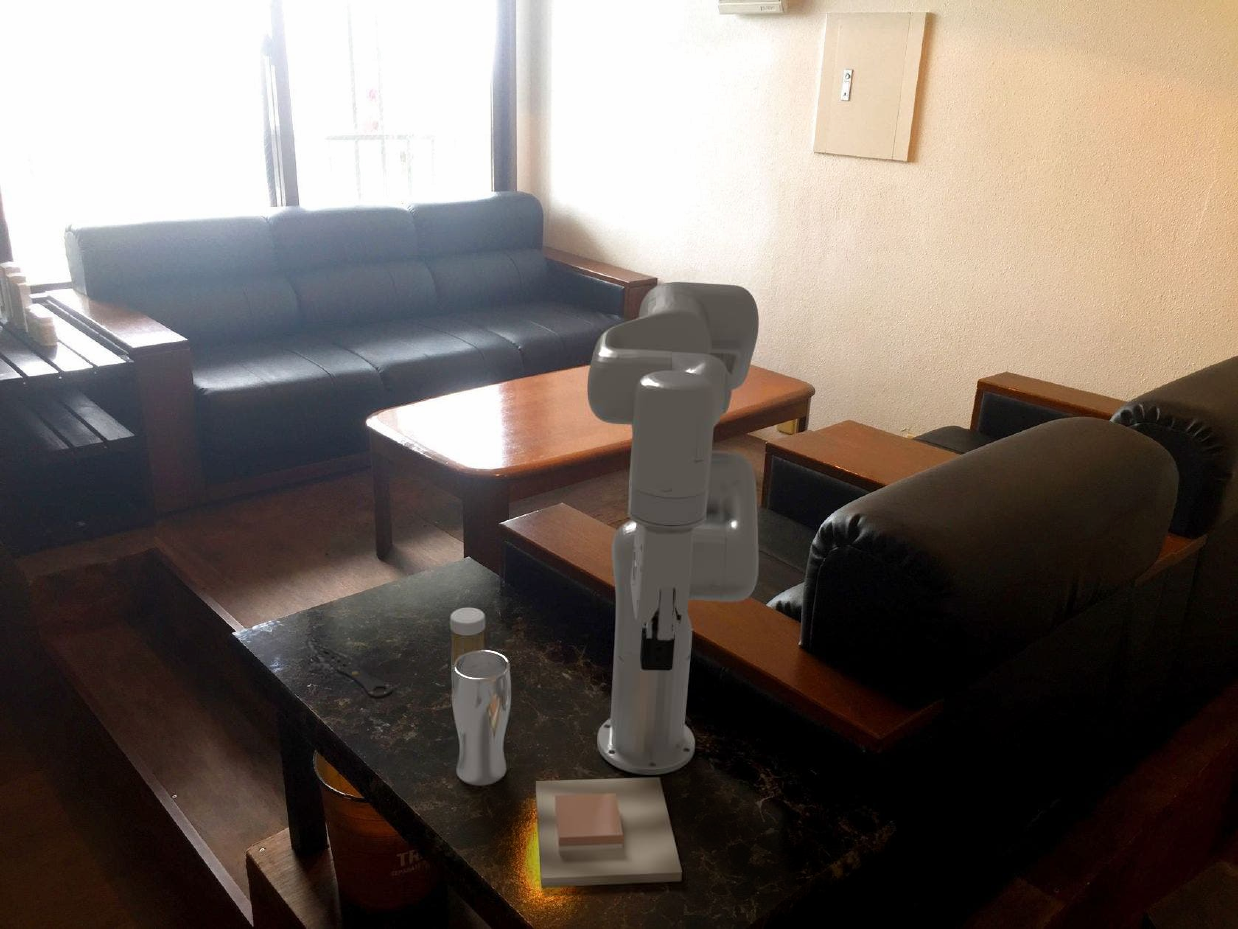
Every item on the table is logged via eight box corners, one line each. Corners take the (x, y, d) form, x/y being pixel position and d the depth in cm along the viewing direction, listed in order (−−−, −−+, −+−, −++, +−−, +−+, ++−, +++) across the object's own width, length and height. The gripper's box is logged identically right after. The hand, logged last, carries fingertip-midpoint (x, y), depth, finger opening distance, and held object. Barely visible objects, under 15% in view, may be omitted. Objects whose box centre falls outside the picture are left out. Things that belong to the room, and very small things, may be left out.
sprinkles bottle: (452, 692, 141) (451, 606, 136) (485, 692, 142) (485, 606, 137) (450, 711, 137) (449, 623, 132) (484, 711, 137) (484, 623, 133)
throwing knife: (373, 703, 138) (373, 699, 138) (293, 647, 151) (293, 644, 150) (400, 691, 141) (399, 687, 141) (319, 637, 154) (319, 633, 154)
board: (535, 789, 123) (535, 781, 122) (658, 785, 124) (659, 777, 124) (541, 887, 108) (541, 878, 107) (681, 881, 110) (681, 872, 109)
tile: (558, 851, 111) (554, 808, 118) (622, 848, 112) (615, 806, 119) (558, 837, 111) (555, 795, 117) (622, 835, 112) (615, 793, 118)
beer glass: (456, 792, 121) (455, 683, 116) (449, 756, 128) (448, 652, 123) (514, 784, 123) (516, 677, 118) (504, 750, 130) (506, 646, 124)
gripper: (624, 471, 104) (615, 628, 111) (633, 533, 90) (623, 708, 97) (697, 473, 105) (684, 629, 111) (717, 535, 91) (701, 709, 97)
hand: (655, 665), depth 104 cm, fingers closed
